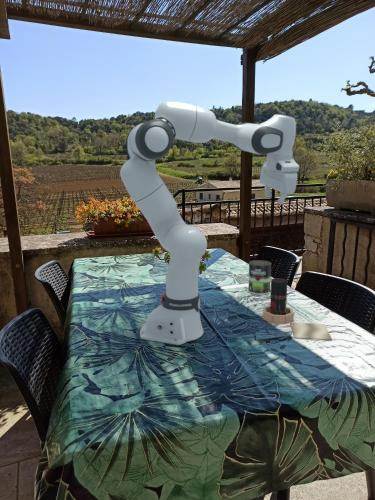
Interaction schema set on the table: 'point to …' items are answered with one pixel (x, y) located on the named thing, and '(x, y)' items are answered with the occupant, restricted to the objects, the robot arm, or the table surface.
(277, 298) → the deodorant
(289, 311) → the ring dish
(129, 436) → the table surface
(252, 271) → the coffee can
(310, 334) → the beige square cloth
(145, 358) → the table surface
